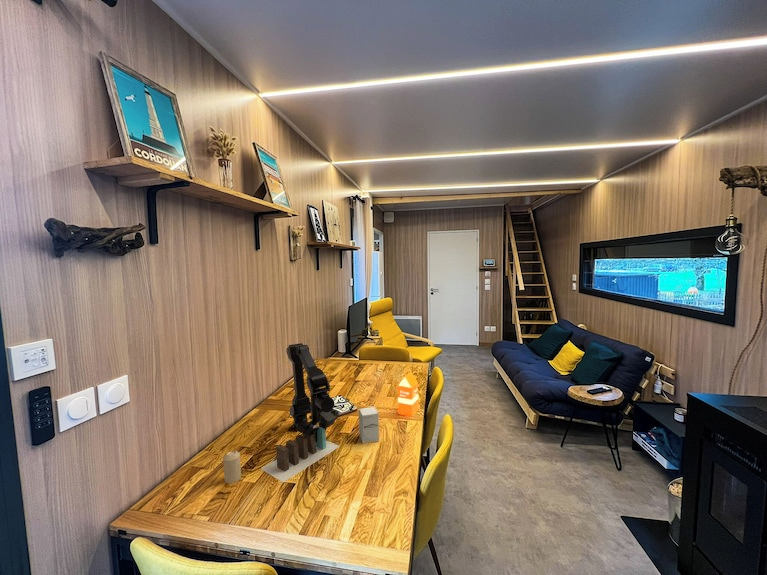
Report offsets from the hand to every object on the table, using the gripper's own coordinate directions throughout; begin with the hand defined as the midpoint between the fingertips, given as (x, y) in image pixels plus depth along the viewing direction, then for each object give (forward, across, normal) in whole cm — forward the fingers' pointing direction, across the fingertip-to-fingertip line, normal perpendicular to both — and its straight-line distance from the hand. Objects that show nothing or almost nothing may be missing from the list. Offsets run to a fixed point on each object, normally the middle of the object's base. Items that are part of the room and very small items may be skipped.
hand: (319, 440), depth 135 cm
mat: (+3, -9, 0) cm, 9 cm away
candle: (+3, -32, +10) cm, 34 cm away
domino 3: (+3, -9, 0) cm, 9 cm away
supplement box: (+3, +17, -13) cm, 22 cm away
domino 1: (+3, -18, 0) cm, 18 cm away
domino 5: (+3, 0, -1) cm, 3 cm away
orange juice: (+3, +49, -13) cm, 51 cm away
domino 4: (+3, -4, 0) cm, 5 cm away
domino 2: (+3, -14, 0) cm, 14 cm away
